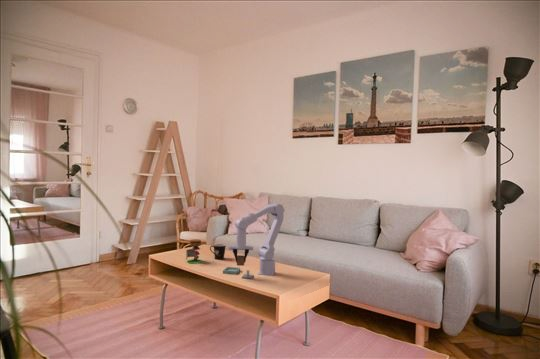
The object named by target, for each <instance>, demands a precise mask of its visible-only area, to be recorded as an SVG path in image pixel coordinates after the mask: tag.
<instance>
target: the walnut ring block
mask: <svg viewBox="0 0 540 359" xmlns="http://www.w3.org/2000/svg"><path fill="white" fill-rule="evenodd" d="M244 258H245V255H240V254H239V255H238V254H237V262H236V266H238V267H239V266H241V267H242V266H245V262H244Z"/></svg>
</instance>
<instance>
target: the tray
mask: <svg viewBox="0 0 540 359" xmlns="http://www.w3.org/2000/svg"><path fill="white" fill-rule="evenodd" d="M240 271H241V267H233V266H226V267H225V268H224V269H223V270H222V274H225V275H226V274H228V275H237V274H239V272H240Z"/></svg>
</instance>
